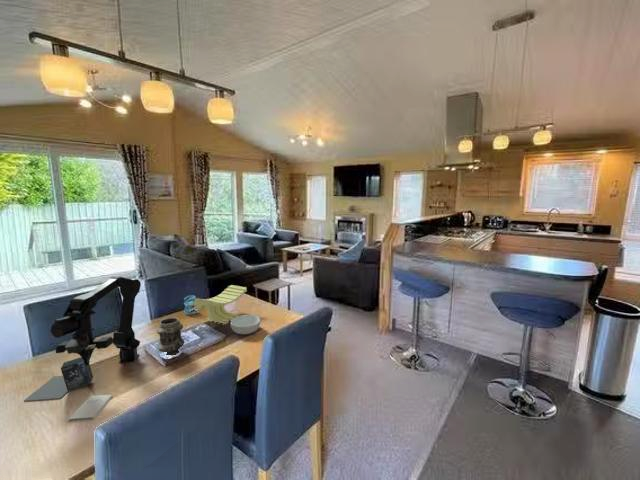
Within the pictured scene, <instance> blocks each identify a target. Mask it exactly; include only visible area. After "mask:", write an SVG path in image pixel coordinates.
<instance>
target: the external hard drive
mask: <svg viewBox="0 0 640 480" xmlns="http://www.w3.org/2000/svg"><path fill="white" fill-rule="evenodd" d="M112 398H113V394H104V395H90V396H89V397H88V398H87V399H86V400H85V401H84V402H83V403H82V404H81V405H80V406H79V408H78V409H77V410H76V411H75V412H73V414H72V415H71V416H70V417H69V418H68V422H77V421H80V422H81V421H89V420H94V419H95V418H96V417H97V416H98V415H99V414H100V412H101V411H103V409H104V407H105V406H106V405H107V403H109V402H110V400H112Z"/></svg>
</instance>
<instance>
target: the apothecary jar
mask: <svg viewBox="0 0 640 480" xmlns="http://www.w3.org/2000/svg"><path fill="white" fill-rule="evenodd" d="M179 320H180V319H179V318H178V317H168V318H167V317H166V318H163V319H162V320H160V321H159V325H158V326H157V327H156V330H155V331H156V333H157V334H158V335H159V342H158V343H157V346H156V347H157V350H158V351H160V352H162V353H164V352H167V354H166V355H176V354H177V353H179V351H178V349H181V348H182V347H183V346H184V344H185V340H184V338H183V337H182V334H181V333H182V332H181V331H182V329H183V323H182V322H180V321H179Z"/></svg>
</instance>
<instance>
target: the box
mask: <svg viewBox="0 0 640 480" xmlns="http://www.w3.org/2000/svg"><path fill="white" fill-rule="evenodd" d="M60 370H61V375H62V376H63V378H64V381H65V384H66V387H67V390H68V391H69V392H70V391H71V390H74V389H78V388H81V387H83V386H87V385H90V384H91V383H92V380H93V378H94V374H93V372H92V368H91V365H90V363H89V365H85V362H84V360H83V359H82V357H81V356H79V357H77V358H74V359H71V360H67V361H64V362H63V363H62V365H61V367H60Z"/></svg>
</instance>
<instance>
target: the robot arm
mask: <svg viewBox="0 0 640 480" xmlns="http://www.w3.org/2000/svg"><path fill="white" fill-rule="evenodd" d="M141 283H142V282H141V281H140V280H139V279H137V278H126V277H123V276H119V275H118V276H116V275H115V276H111V277H109V279H108V280H106V281H105V282H103V283H102V284H100V285H98V286H97V287H96V288H94V289H92V290H91V291H89V292H87V293H84V294H80V295H77V296H75V297H73V298H72V299H71V300H70V301H69V304H68V306H67V308H66V309H65V312H63V315H62V318H61V317H60V318H56V319H55V320H54V323H52V325H51V328H50V333H51V335H52V336H53V337H54V338H56V339H59V338H62V337H65V336H67V335H70V334H72V335H71V337H72V338H71V339H70V340H65V341H63V342H61V343H59V344H58V345H56V347H55V354H62V353H63V354H64V353H65V352H67V354H69V355H71V354H78V355H79V357H82V359H83V360H84V362H85V365H89V364H90V360H91V357H92V355H93V352H94V351H95V349H97V350H101V349H106V348H109V347H110V346H111V345H112V344H113V345H114V346H115V347H116V349H119V353H118V354H119V361H118V362H119V363H134V362H135V360H136V359H137V358H138V357H140V353H139V354H138V348H139V346H140V343H141V341H140V340H138V339H136V334H135V333H136V332H135V331H134V329H133V318H134V309H135V300H136V297H137V295H138V294H139V293H140V289H141V286H142V285H141ZM117 288H119V293H120V294H121V296H122V303H121V311H120V313H121V314H120V318H119V319H120V320H119V328H118V329H117V330H116V331H115V332H113V335H112V336H113V337H112V336H107V337H105V336H104V337H101V338H100V339H98V340H96V336H94V334H93V333H94V330H95V326H93V325H92V324H93V323H92V315H96V311H95V310H93V309H95V307H96V306H97V305H98V303H99V301H100V300H101V299H103V298H104V297H106V296H107V295H108V294H109V293H111V292H113V291H114V290H115V289H117Z"/></svg>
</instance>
